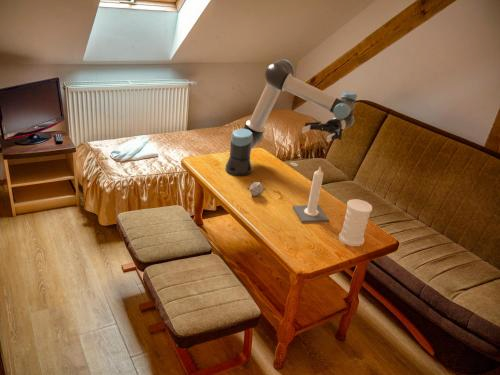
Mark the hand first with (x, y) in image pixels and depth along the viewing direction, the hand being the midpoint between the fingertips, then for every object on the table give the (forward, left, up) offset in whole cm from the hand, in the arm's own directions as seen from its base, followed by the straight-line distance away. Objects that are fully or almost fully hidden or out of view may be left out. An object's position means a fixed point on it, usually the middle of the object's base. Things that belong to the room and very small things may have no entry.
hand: (314, 134), depth 208 cm
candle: (+12, 0, -36) cm, 38 cm away
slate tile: (+12, 0, -37) cm, 39 cm away
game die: (-8, -23, -38) cm, 45 cm away
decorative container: (+34, +12, -38) cm, 52 cm away
